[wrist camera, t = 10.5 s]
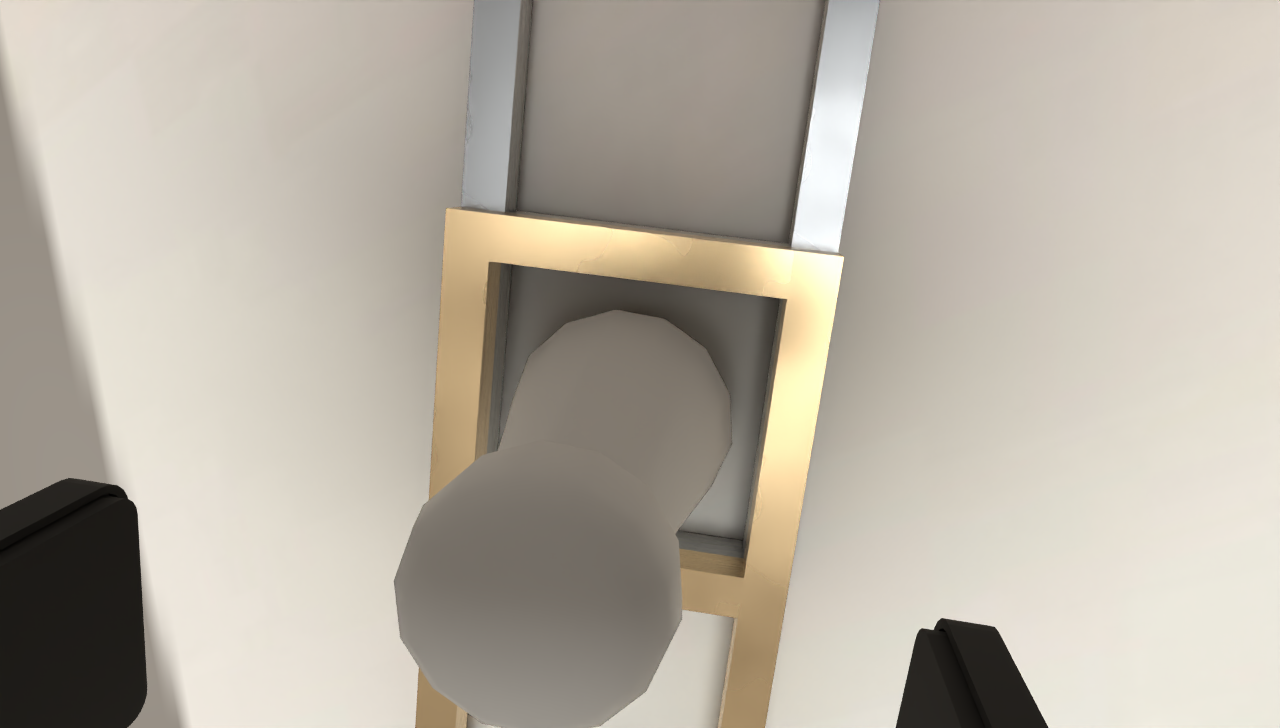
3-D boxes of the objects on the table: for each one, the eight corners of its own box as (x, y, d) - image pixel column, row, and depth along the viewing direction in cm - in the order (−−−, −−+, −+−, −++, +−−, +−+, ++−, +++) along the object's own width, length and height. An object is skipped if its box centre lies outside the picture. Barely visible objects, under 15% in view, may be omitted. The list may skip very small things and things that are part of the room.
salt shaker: (734, 491, 24) (737, 823, 12) (542, 493, 25) (349, 809, 12) (728, 293, 23) (722, 424, 11) (527, 300, 24) (295, 433, 11)
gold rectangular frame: (474, 205, 23) (445, 208, 21) (832, 249, 23) (844, 257, 20) (436, 777, 28) (409, 832, 25) (736, 831, 27) (737, 893, 24)
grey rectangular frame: (497, -141, 21) (483, -159, 20) (891, -107, 21) (900, -124, 19) (452, 533, 26) (439, 549, 24) (777, 583, 25) (779, 603, 24)
